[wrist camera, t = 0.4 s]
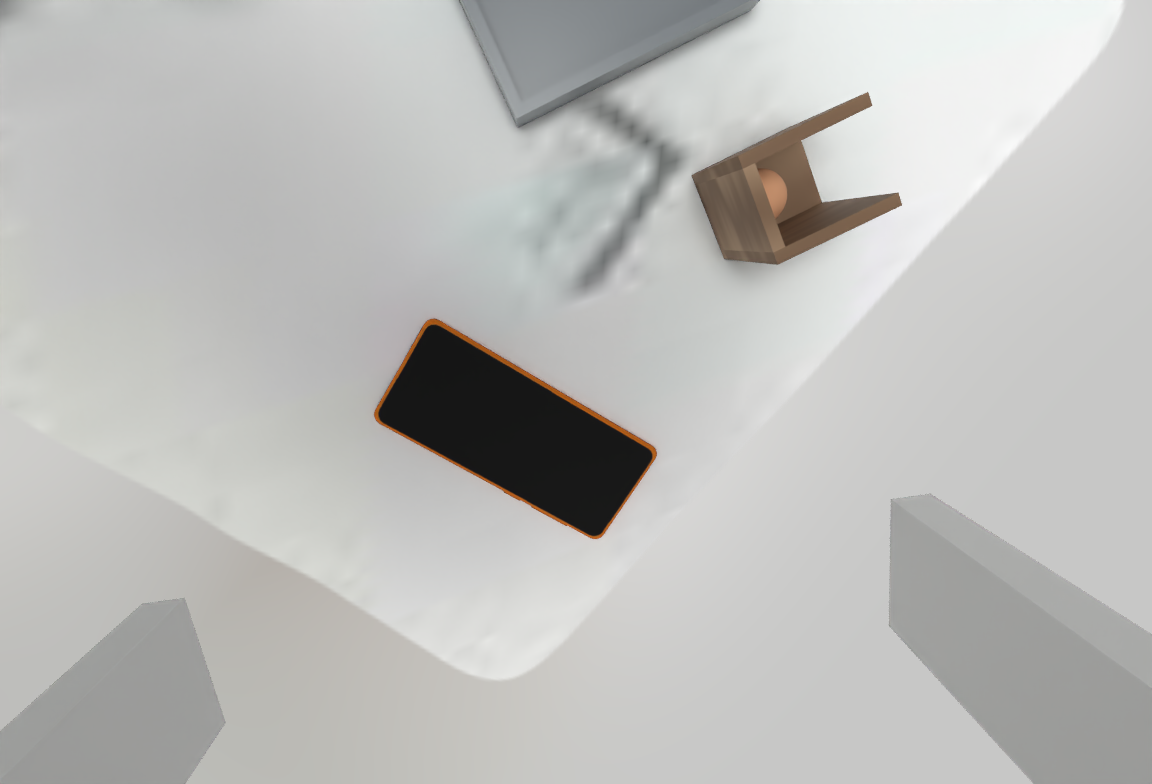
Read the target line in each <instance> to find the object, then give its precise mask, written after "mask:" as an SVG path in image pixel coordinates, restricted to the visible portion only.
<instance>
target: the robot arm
mask: <svg viewBox="0 0 1152 784" xmlns="http://www.w3.org/2000/svg"><path fill="white" fill-rule="evenodd" d="M889 590H890V591H889V626H890V628H891V629H892V630H893V631H894V632H895V633H896V634H897V635H898V636H899V637H900V638H901V640H902V641H903V642H904V643H905V644H906V645H907V646H908V647H909V648H910V649H911V651H912V652H913V653H914V654H915V655H916V656H917V657H918V658H919V659H920V660H921V661H922V663H923V664H924V665H925V666H926V667H927V668H928V669H929V670H930V671H931V672H932V673H933V675H934V676H935V677H936V678H937V679H938V680H939V681H940V682H941V683H942V684H943V685H944V686H945V687H946V689H947V690H948V691H949V692H950V693H951V694H952V695H953V696H954V697H955V699H956V700H957V701H958V702H959V703H960V704H961V705H962V706H963V707H964V708H965V709H966V711H967V712H968V713H969V714H970V715H971V716H972V717H973V718H974V719H975V720H976V721H977V723H978V724H979V725H980V726H981V727H982V728H983V729H984V730H985V731H986V732H987V733H988V734H989V736H990V737H991V738H992V739H993V740H994V741H995V742H996V743H997V744H998V745H999V747H1000V748H1001V749H1002V750H1003V751H1004V752H1005V753H1006V754H1007V755H1008V756H1009V757H1010V759H1011V760H1012V761H1013V762H1014V763H1015V764H1016V765H1017V766H1018V767H1019V768H1020V769H1021V770H1022V772H1023V773H1024V774H1025V775H1026V776H1027V777H1028V778H1029V779H1030V780H1031V781H1032V782H1033V784H1152V634H1150V633H1149V632H1147V631H1146V630H1144V629H1143V628H1141V627H1139V626H1138V625H1136V624H1134V623H1133V622H1132V621H1130V620H1128V619H1127V618H1125V617H1124V616H1122V615H1121V614H1119V613H1117V612H1116V611H1114V610H1113V609H1111V608H1109V607H1108V606H1106V605H1105V604H1103V603H1102V602H1100V601H1099V600H1097V599H1095V598H1094V597H1092V596H1091V595H1089V594H1087V593H1086V592H1084V591H1083V590H1081V589H1080V588H1078V587H1076V586H1075V585H1073V584H1072V583H1070V582H1069V581H1067V580H1065V579H1064V578H1062V577H1061V576H1059V575H1058V574H1056V573H1054V572H1053V571H1051V570H1050V569H1048V568H1047V567H1045V566H1043V565H1042V564H1040V563H1039V562H1037V561H1036V560H1034V559H1032V558H1031V557H1029V556H1028V555H1026V554H1025V553H1023V552H1021V551H1020V550H1018V549H1017V548H1015V547H1014V546H1012V545H1010V544H1009V543H1007V542H1006V541H1004V540H1002V539H1001V538H999V537H998V536H996V535H995V534H993V533H992V532H990V531H988V530H987V529H985V528H984V527H982V526H980V525H979V524H977V523H976V522H974V521H973V520H971V519H970V518H968V517H966V516H965V515H963V514H962V513H960V512H958V511H957V510H955V509H954V508H952V507H951V506H949V505H947V504H946V503H944V502H943V501H941V500H939V499H938V498H936V497H935V496H933V495H932V494H925V495H918V496H911V497H904V498H897V499H891V520H890V589H889ZM224 724H225V719H224V716H223V714H222V710H221V708H220V704H219V701H218V698H217V695H216V692H215V689H214V686H213V683H212V680H211V677H210V674H209V671H208V668H207V665H206V661H205V659H204V655H203V652H202V649H201V646H200V643H199V640H198V637H197V634H196V631H195V628H194V625H193V622H192V619H191V616H190V613H189V610H188V607H187V604H186V601H185V598H180V599H173V600H166V601H159V602H152V603H145V604H141V605H140V606H139V607H138V608H137V609H136V610H135V611H133V612H132V613H131V614H130V615H129V616H128V617H127V618H126V619H125V620H123V621H122V622H121V623H120V624H119V625H118V626H117V627H116V628H114V629H113V630H112V631H111V632H110V633H109V634H108V635H107V636H106V637H104V638H103V639H102V640H101V641H100V642H99V643H98V644H97V645H96V646H94V647H93V648H92V649H91V650H90V651H89V652H88V653H87V654H86V655H84V657H82V658H81V659H80V660H79V661H78V662H77V663H76V664H74V665H73V666H72V667H71V668H70V669H69V670H68V671H67V672H66V673H64V674H63V675H62V676H61V677H60V678H59V679H58V680H57V681H56V682H54V683H53V684H52V685H51V686H50V687H49V688H48V689H47V690H45V691H44V692H43V693H42V694H41V695H40V696H39V697H38V698H37V699H35V700H34V701H33V702H32V703H31V704H30V705H29V706H28V707H27V708H25V709H24V710H23V711H22V712H21V713H20V714H19V715H18V716H17V717H15V718H14V719H13V720H12V721H11V722H10V723H9V724H8V725H6V726H5V727H4V728H3V729H2V730H1V731H0V784H185V783H186V782H187V780H188V779H189V777H190V776H191V774H192V773H193V771H194V770H195V768H196V766H197V765H198V763H199V762H200V760H201V759H202V757H203V756H204V754H205V753H206V751H207V750H208V748H209V747H210V745H211V744H212V742H213V741H214V739H215V738H216V736H217V735H218V733H219V732H220V730H221V729H222V727H223V726H224Z"/></svg>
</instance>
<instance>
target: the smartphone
mask: <svg viewBox="0 0 1152 784" xmlns="http://www.w3.org/2000/svg"><path fill="white" fill-rule="evenodd" d="M374 417H375V419H376V421H377V422H378V423H380V424H381V425H383V426H385V427H387V428H389V429H390V430H392V431H394V432H396V433H398V434H400V435H401V436H403V437H405V438H407V439H409V440H411V441H413V442H414V443H416V444H418V445H420V446H422V447H424V448H425V449H427V450H429V451H431V452H433V453H435V454H437V455H438V456H440V457H442V458H444V459H446V460H448V461H449V462H451V463H453V464H455V465H457V466H459V467H461V468H462V469H464V470H466V471H468V472H470V473H472V474H473V475H475V476H477V477H479V478H481V479H483V480H485V481H486V482H488V483H490V484H492V485H494V486H496V487H497V488H499V489H501V490H503V491H504V493H506V494H508V495H510V496H512V497H514V498H516V499H517V500H519V501H520V500H521V501H523V502H525V503H527V504H529V505H531V507H532V508H534V509H536V510H538V511H540V512H541V513H543V514H545V515H547V516H549V517H551V518H553V519H554V520H556V521H558V522H560V523H562V524H564V525H565V526H567V525H568V526H569V527H571V528H573V529H575V530H577V531H579V532H581V533H582V534H584V535H586V536H588V537H590V538H592V539H598V538H600V537H602V536H603V535H604V533H605V532H606V530H607V529H608V527H609V526H610V524H611V523H612V522H613V520H614V519H615V517H616V516H617V514H618V513H619V511H620V510H621V508H622V507H623V505H624V504H625V502H626V501H627V500H628V498H629V497H630V495H631V494H632V492H633V491H634V489H635V488H636V486H637V485H638V483H639V482H640V481H641V479H642V478H643V476H644V475H645V473H646V472H647V470H648V469H649V467H650V466H651V464H652V463H653V462H654V460H655V458H656V456H657V452H656V450H655V448H654V447H653V446H652V445H650V444H648V443H646V442H645V441H643V440H641V439H640V438H638V437H636V436H635V435H633V434H631V433H629V432H628V431H626V430H624V429H623V428H621V427H619V426H618V425H616V424H614V423H613V422H611V421H609V420H607V419H606V418H604V417H602V416H601V415H599V414H597V413H596V412H594V411H592V410H590V409H589V408H587V407H585V406H584V405H582V404H580V403H579V402H577V401H575V400H573V399H572V398H570V397H568V396H567V395H565V394H563V393H562V392H560V391H558V390H557V389H555V388H553V387H551V386H550V385H548V384H546V383H545V382H543V381H541V380H540V379H538V378H536V377H534V376H533V375H531V374H529V373H528V372H526V371H524V370H523V369H521V368H519V367H517V366H516V365H514V364H512V363H511V362H509V361H507V360H506V359H504V358H502V357H500V356H499V355H497V354H495V353H494V352H492V351H490V350H489V349H487V348H485V347H484V346H482V345H480V344H478V343H477V342H475V341H473V340H472V339H470V338H468V337H467V336H465V335H463V334H461V333H460V332H458V331H456V330H455V329H453V328H451V327H450V326H448V325H446V324H444V323H443V322H441V321H439V320H437V319H430V320H428V321H426V323H425V324H424V325H423V327H422V329H421V331H420V332H419V334H418V336H417V338H416V339H415V341H414V343H413V345H412V346H411V348H410V350H409V352H408V353H407V355H406V357H405V359H404V361H403V363H402V364H401V366H400V368H399V370H398V371H397V373H396V375H395V376H394V378H393V380H392V382H391V383H390V385H389V387H388V389H387V390H386V392H385V394H384V396H383V397H382V399H381V401H380V403H379V404H378V406H377V408H376V410H375V413H374Z"/></svg>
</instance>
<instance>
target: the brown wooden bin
mask: <svg viewBox="0 0 1152 784" xmlns="http://www.w3.org/2000/svg"><path fill="white" fill-rule="evenodd" d="M871 106H872V103H871V100H870V96H869V93H868V92H867V93H865V94H863V95H860V96H858V97H856V98H854V99H851V100H849V101H847V102H845V103H842V104H840V105H838V106H836V107H833V108H831V109H829V110H827V111H825V112H822V113H820V114H818V115H816V116H813V117H811V118H809V119H807V120H804V121H802V122H800V123H798V124H795V125H793V126H791V127H789V128H787V129H785V130H783V131H781V132H779V133H777V134H775V135H773V136H771V137H769V138H766V139H764V140H762V141H760V142H758V143H756V144H754V145H752V146H750V147H748V148H746V149H744V150H742V151H740V152H738V153H736V154H734V155H732V156H730V157H728V158H726V159H724V160H722V161H720V162H718V163H716V164H713V165H711V166H709V167H707V168H705V169H703V170H701V171H699V172H697V173H695V174H693V175H692V178H693V180H694V183H695V185H696V188H697V190H698V193H699V195H700V198H701V201H702V203H703V206H704V208H705V211H706V213H707V216H708V218H709V221H710V224H711V226H712V229H713V231H714V234H715V236H716V239H717V242H718V244H719V247H720V249H721V252H722V254H723V257H724V259H728V260H738V261H748V262H758V263H767V264H777V265H778V264H780V263H782V262H784V261H786V260H788V259H791V258H793V257H795V256H797V255H799V254H801V253H803V252H805V251H807V250H809V249H811V248H814V247H816V246H818V245H820V244H822V243H824V242H826V241H828V240H830V239H832V238H834V237H837V236H839V235H841V234H843V233H845V232H847V231H849V230H851V229H853V228H855V227H857V226H860V225H862V224H864V223H866V222H868V221H870V220H872V219H874V218H876V217H878V216H880V215H883V214H885V213H887V212H889V211H891V210H893V209H895V208H897V207H899V206H901V205H902V203H901V200H900V197H899V193H892V194H885V195H877V196H869V197H862V198H854V199H846V200H839V201H831V202H823V203H822V202H821V199H820V196H819V193H818V190H817V187H816V184H815V181H814V178H813V175H812V172H811V169H810V166H809V163H808V160H807V157H806V154H805V151H804V148H803V145H802V142H801V140H803V139H805V138H807V137H809V136H811V135H813V134H815V133H817V132H819V131H821V130H824V129H826V128H828V127H830V126H832V125H834V124H836V123H838V122H840V121H842V120H844V119H846V118H848V117H850V116H852V115H854V114H856V113H858V112H860V111H862V110H864V109H866V108H869V107H871ZM759 168H764V169H769V170H772V171H774V172H776V173H777V174H778V175H779V176H780V177H781V178H782V179H783V181H784V183H785V185H786V188H787V201H786V204H785V207H784V209H783V211H782V212H781V213H780V215H779V216H778V217H777V218H776V219H775V217H774V214H773V211H772V208H771V206H770V203H769V200H768V197H767V194H766V192H765V189H764V186H763V183H762V181H761V178H760V175H759V172H758V169H759Z"/></svg>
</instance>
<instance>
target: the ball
mask: <svg viewBox="0 0 1152 784" xmlns="http://www.w3.org/2000/svg"><path fill="white" fill-rule="evenodd" d="M758 172H759V175H760V178H761V181H762V183H763V186H764V189H765V192H766V194H767V197H768V200H769V203H770V206H771V208H772V211H773V214H774V217H775V219H776V218H777V217H778V216H779V215H780V213H781V212H782V211H783V209H784V207H785V204H786V201H787V188H786V185H785V183H784V181H783V179H782V178H781V177H780V176H779V175H778V174H777V173H776V172H774V171H772V170H769V169H764V168H759V169H758Z"/></svg>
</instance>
